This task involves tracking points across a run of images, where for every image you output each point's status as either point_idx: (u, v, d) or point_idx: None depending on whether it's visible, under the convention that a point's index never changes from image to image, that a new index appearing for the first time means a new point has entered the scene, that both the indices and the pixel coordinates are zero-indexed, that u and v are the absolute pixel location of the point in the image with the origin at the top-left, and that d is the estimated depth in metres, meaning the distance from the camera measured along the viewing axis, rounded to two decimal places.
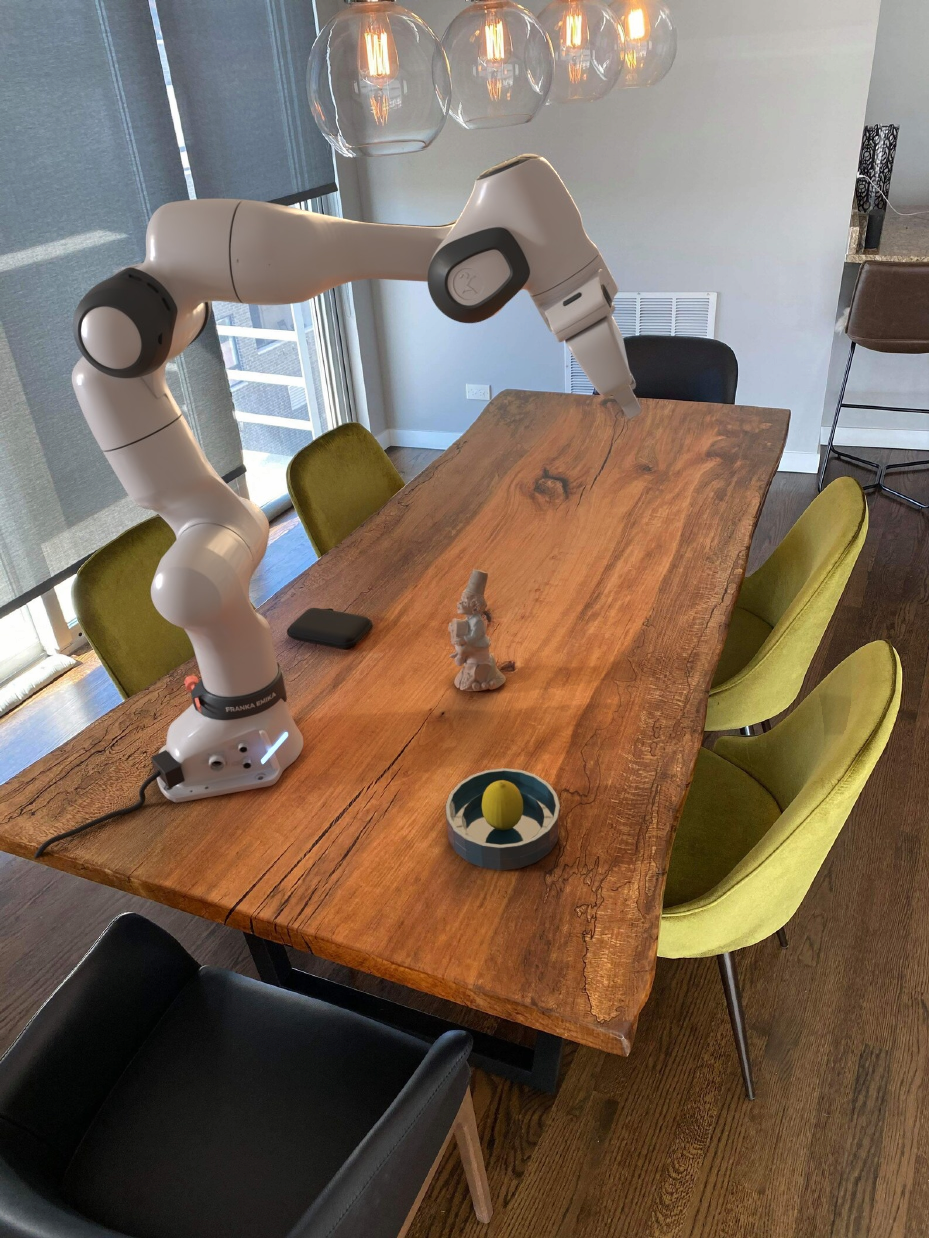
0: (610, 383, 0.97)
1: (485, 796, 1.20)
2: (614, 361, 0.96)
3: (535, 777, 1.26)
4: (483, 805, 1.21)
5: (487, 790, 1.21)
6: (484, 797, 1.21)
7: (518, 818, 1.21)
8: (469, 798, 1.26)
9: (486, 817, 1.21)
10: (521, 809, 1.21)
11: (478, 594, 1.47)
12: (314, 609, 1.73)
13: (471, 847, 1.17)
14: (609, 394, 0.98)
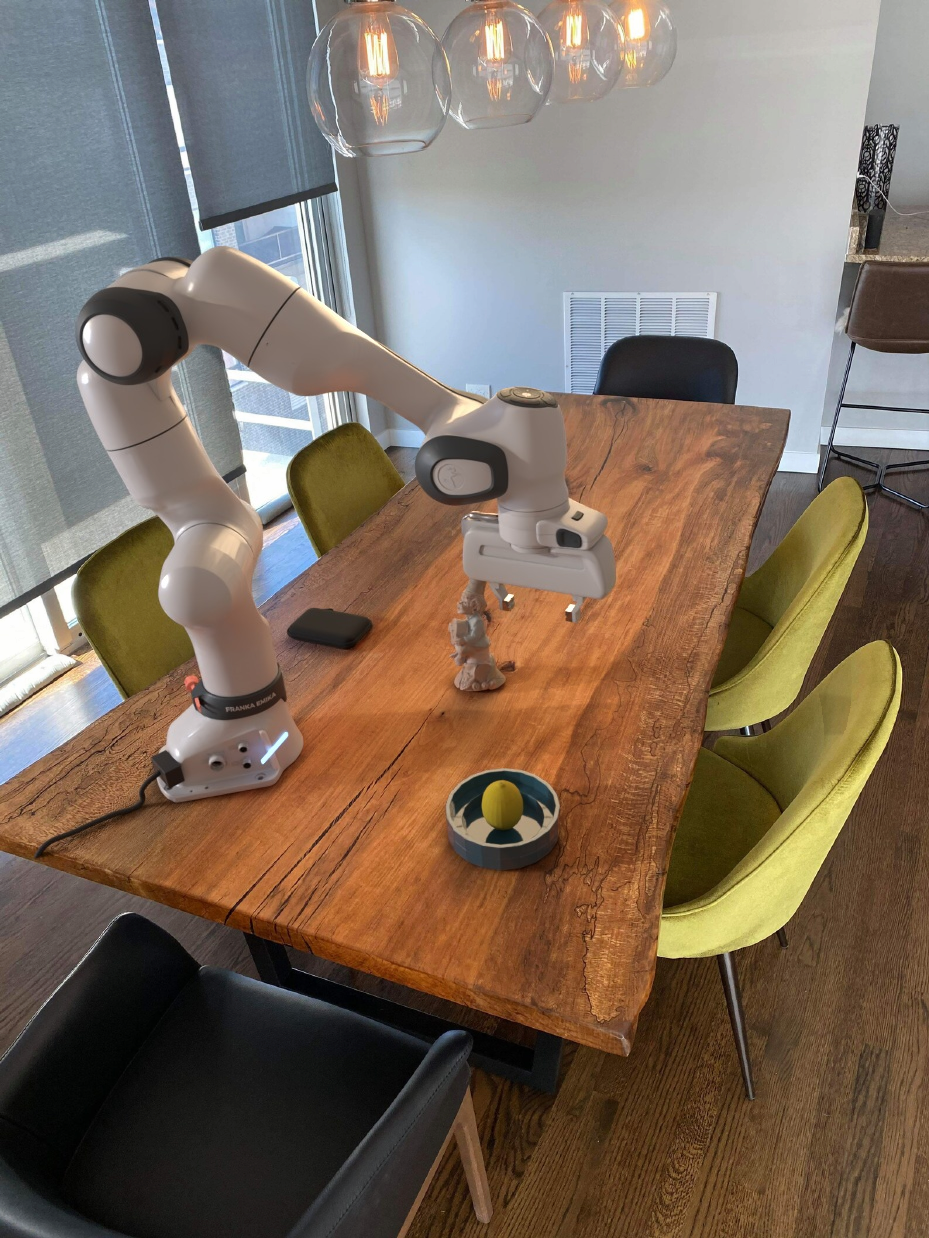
0: (611, 586, 1.13)
1: (485, 796, 1.20)
2: (613, 567, 1.13)
3: (535, 777, 1.26)
4: (483, 805, 1.21)
5: (487, 790, 1.21)
6: (484, 797, 1.21)
7: (518, 818, 1.21)
8: (469, 798, 1.26)
9: (486, 817, 1.21)
10: (521, 809, 1.21)
11: (478, 594, 1.47)
12: (314, 609, 1.73)
13: (471, 847, 1.17)
14: None
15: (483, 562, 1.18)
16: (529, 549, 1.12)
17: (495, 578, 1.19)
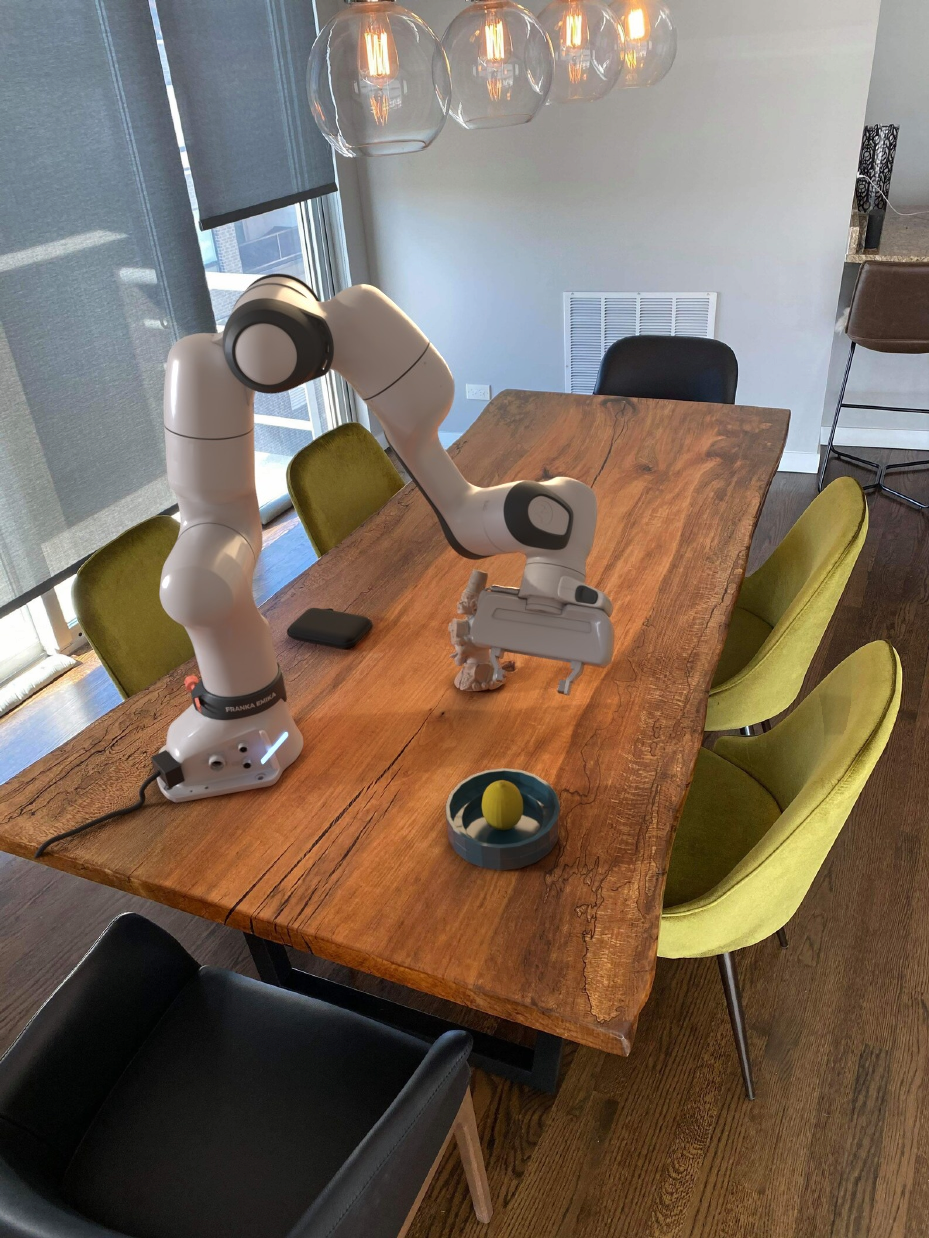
0: (609, 656, 1.23)
1: (485, 796, 1.20)
2: (613, 645, 1.25)
3: (535, 777, 1.26)
4: (483, 805, 1.21)
5: (487, 790, 1.21)
6: (484, 797, 1.21)
7: (518, 818, 1.21)
8: (469, 798, 1.26)
9: (486, 817, 1.21)
10: (521, 809, 1.21)
11: (478, 594, 1.47)
12: (314, 609, 1.73)
13: (471, 847, 1.17)
14: (604, 663, 1.23)
15: (493, 624, 1.28)
16: (545, 605, 1.25)
17: (500, 641, 1.27)
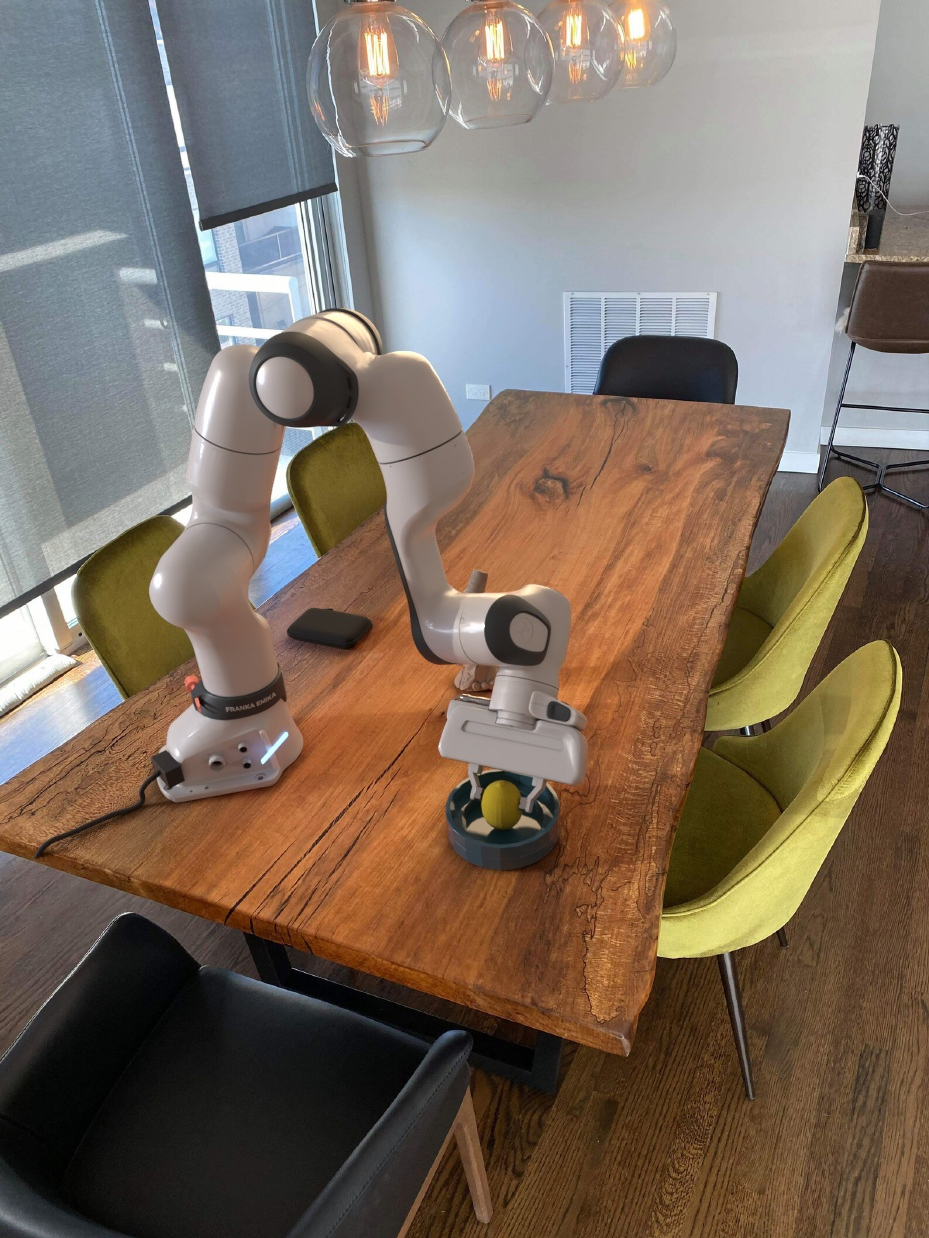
0: (582, 776, 1.19)
1: (485, 795, 1.20)
2: (586, 763, 1.20)
3: None
4: (483, 805, 1.21)
5: (487, 790, 1.21)
6: (484, 797, 1.21)
7: (518, 818, 1.21)
8: (469, 798, 1.26)
9: (486, 817, 1.21)
10: None
11: None
12: (314, 609, 1.73)
13: (471, 847, 1.17)
14: (576, 783, 1.18)
15: (463, 738, 1.23)
16: (516, 721, 1.20)
17: (469, 755, 1.22)
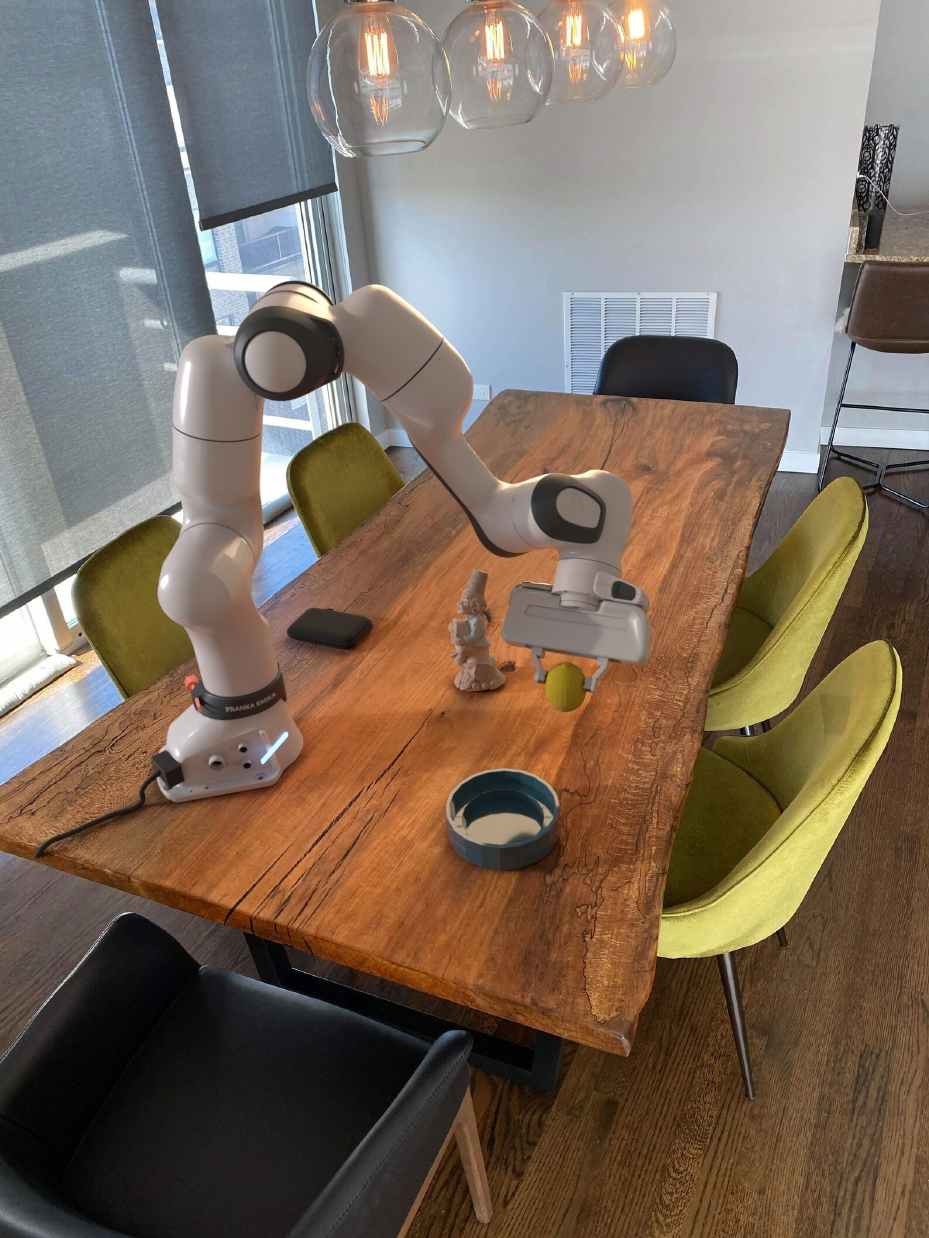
0: (647, 654, 1.19)
1: (550, 676, 1.21)
2: (650, 643, 1.21)
3: (535, 777, 1.26)
4: (547, 686, 1.22)
5: (551, 671, 1.21)
6: (548, 678, 1.21)
7: (582, 699, 1.22)
8: (469, 798, 1.26)
9: (550, 698, 1.22)
10: None
11: (478, 594, 1.47)
12: (314, 609, 1.73)
13: (471, 847, 1.17)
14: (642, 661, 1.19)
15: (526, 621, 1.24)
16: (581, 602, 1.21)
17: (533, 638, 1.23)
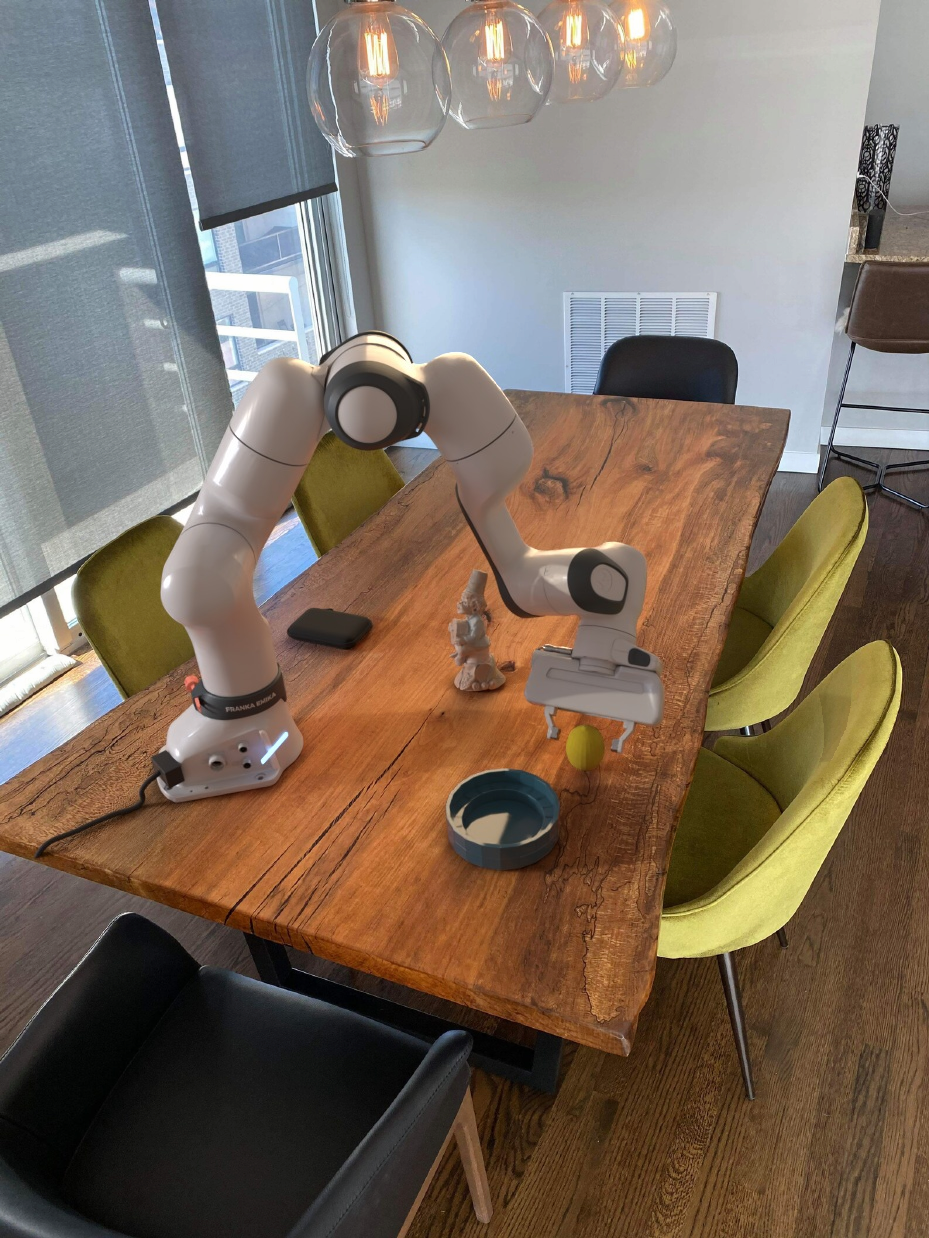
0: (661, 717, 1.28)
1: (570, 738, 1.30)
2: None
3: (535, 777, 1.26)
4: (568, 747, 1.31)
5: (572, 733, 1.31)
6: (569, 739, 1.31)
7: (600, 759, 1.31)
8: (469, 798, 1.26)
9: (571, 758, 1.31)
10: (603, 751, 1.31)
11: (478, 594, 1.47)
12: (314, 609, 1.73)
13: (471, 847, 1.17)
14: (656, 723, 1.28)
15: (547, 683, 1.33)
16: (599, 667, 1.30)
17: (554, 700, 1.32)
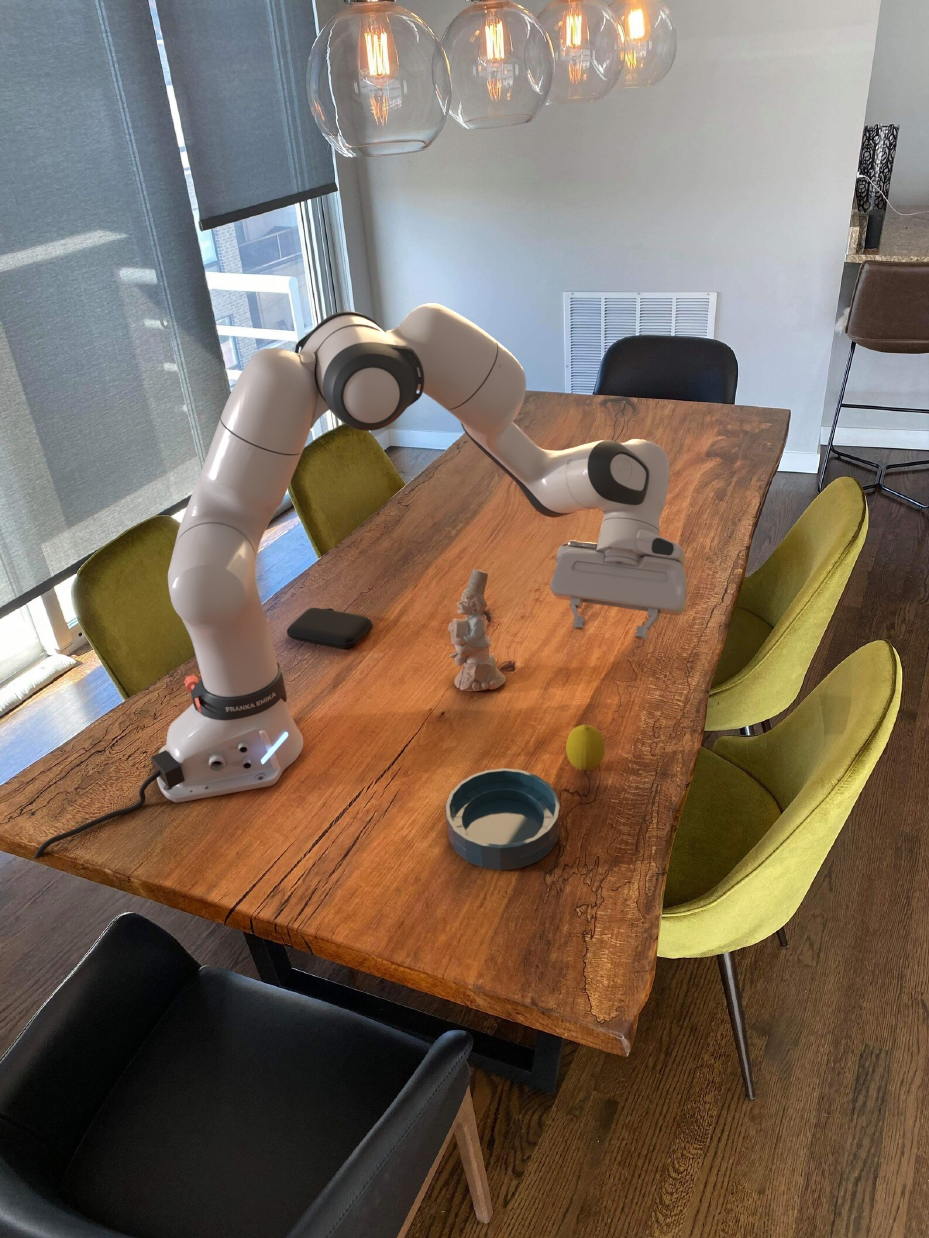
0: (684, 604, 1.33)
1: (570, 738, 1.30)
2: (686, 595, 1.34)
3: (535, 777, 1.26)
4: (568, 747, 1.31)
5: (572, 733, 1.31)
6: (569, 739, 1.31)
7: (600, 759, 1.31)
8: (469, 798, 1.26)
9: (571, 758, 1.31)
10: (603, 751, 1.31)
11: (478, 594, 1.47)
12: (314, 609, 1.73)
13: (471, 847, 1.17)
14: (679, 610, 1.32)
15: (573, 576, 1.38)
16: (624, 557, 1.34)
17: (580, 591, 1.37)
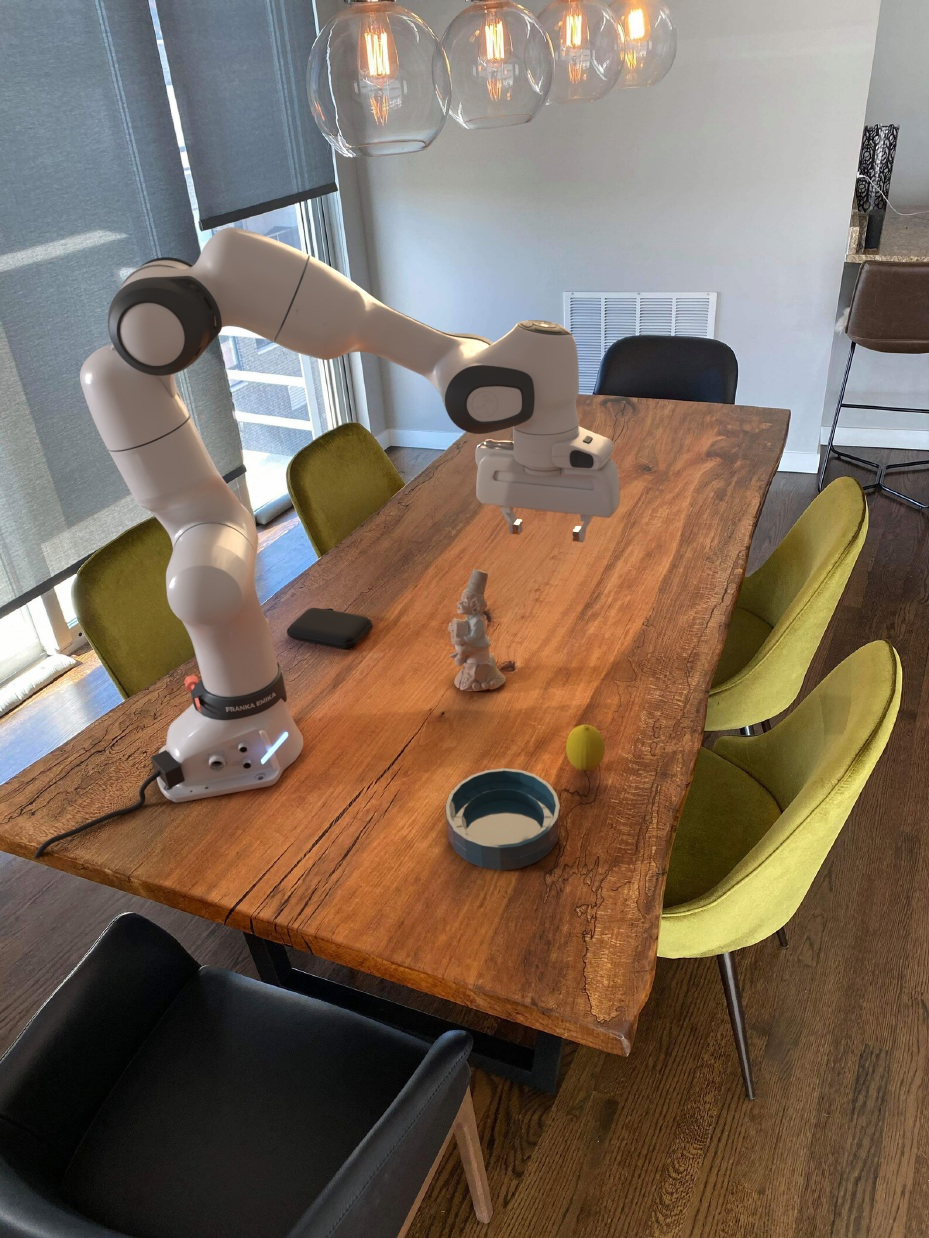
0: (617, 505, 1.24)
1: (570, 738, 1.30)
2: (618, 488, 1.24)
3: (535, 777, 1.26)
4: (568, 747, 1.31)
5: (572, 733, 1.31)
6: (569, 739, 1.31)
7: (600, 759, 1.31)
8: (469, 798, 1.26)
9: (571, 758, 1.31)
10: (603, 751, 1.31)
11: (478, 594, 1.47)
12: (314, 609, 1.73)
13: (471, 847, 1.17)
14: (612, 514, 1.24)
15: (497, 487, 1.28)
16: (543, 471, 1.22)
17: (507, 502, 1.28)
